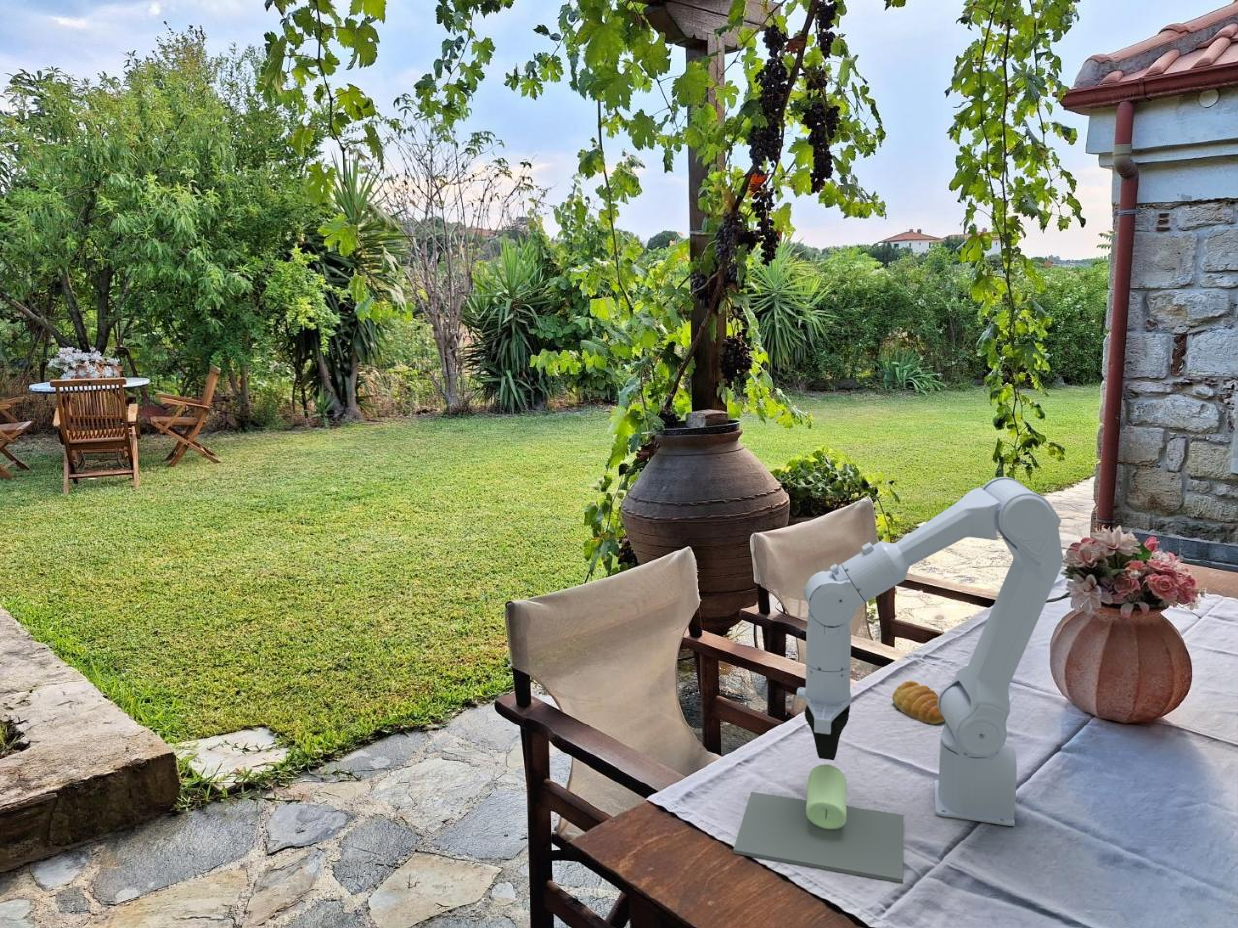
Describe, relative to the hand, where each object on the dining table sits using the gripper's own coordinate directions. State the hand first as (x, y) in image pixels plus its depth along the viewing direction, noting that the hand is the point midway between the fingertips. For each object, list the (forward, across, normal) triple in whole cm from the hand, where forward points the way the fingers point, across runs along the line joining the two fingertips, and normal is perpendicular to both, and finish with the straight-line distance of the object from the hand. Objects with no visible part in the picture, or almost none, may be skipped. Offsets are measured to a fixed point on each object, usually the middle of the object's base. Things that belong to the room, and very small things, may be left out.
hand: (826, 756), depth 115 cm
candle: (+3, +1, 0) cm, 3 cm away
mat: (+6, +8, 0) cm, 10 cm away
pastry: (+7, -30, +12) cm, 33 cm away
